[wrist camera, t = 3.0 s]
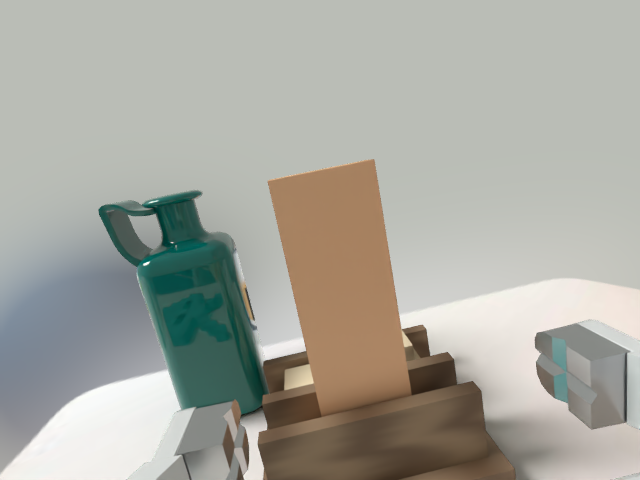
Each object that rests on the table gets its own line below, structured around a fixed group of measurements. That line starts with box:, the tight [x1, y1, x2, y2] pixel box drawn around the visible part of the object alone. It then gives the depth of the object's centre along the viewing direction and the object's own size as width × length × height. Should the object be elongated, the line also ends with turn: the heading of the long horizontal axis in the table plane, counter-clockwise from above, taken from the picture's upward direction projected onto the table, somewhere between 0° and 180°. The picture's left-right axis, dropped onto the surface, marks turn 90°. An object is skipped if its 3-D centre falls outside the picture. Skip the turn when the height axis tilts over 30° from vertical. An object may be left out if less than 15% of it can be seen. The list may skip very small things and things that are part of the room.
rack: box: [258, 325, 516, 480], centre depth 27 cm, size 16×14×6 cm
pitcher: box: [99, 190, 269, 415], centre depth 34 cm, size 10×8×22 cm
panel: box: [268, 159, 412, 417], centre depth 22 cm, size 6×2×20 cm, turn 95°
